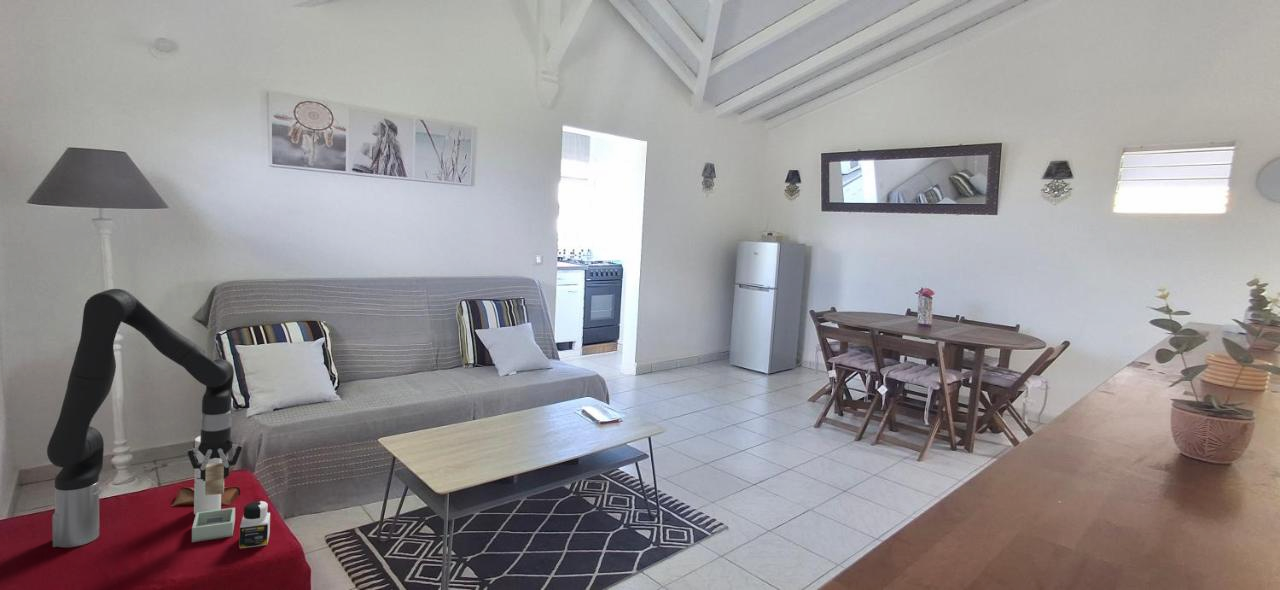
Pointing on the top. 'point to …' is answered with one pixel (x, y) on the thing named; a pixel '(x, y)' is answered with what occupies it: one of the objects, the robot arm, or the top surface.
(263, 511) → the medicine bottle
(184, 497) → the sunglasses case
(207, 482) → the beige wooden block
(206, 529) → the open box
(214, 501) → the cylindrical container
